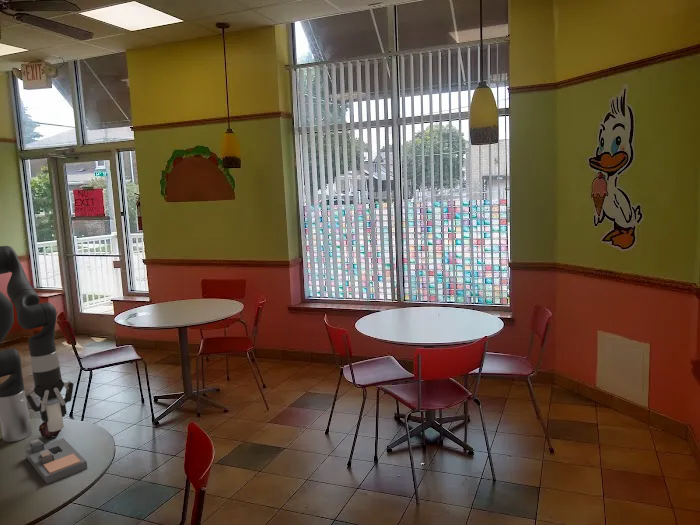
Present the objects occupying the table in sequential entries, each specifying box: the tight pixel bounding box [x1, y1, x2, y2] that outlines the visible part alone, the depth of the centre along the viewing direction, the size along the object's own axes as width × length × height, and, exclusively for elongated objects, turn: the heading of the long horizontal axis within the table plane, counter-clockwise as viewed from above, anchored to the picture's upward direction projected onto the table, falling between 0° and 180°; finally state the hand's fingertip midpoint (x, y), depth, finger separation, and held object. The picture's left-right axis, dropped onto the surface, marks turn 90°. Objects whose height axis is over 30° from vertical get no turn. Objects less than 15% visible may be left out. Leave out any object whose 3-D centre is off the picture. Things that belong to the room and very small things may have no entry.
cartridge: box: [45, 397, 65, 432], centre depth 174 cm, size 5×5×10 cm
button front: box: [40, 449, 50, 459], centre depth 179 cm, size 2×2×3 cm
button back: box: [30, 438, 41, 447], centre depth 188 cm, size 2×2×3 cm
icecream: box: [38, 421, 62, 439], centre depth 203 cm, size 7×7×15 cm
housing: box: [25, 437, 88, 485], centre depth 182 cm, size 25×12×4 cm, turn 43°
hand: (54, 418), depth 174 cm, fingers closed on cartridge, 4 cm apart
